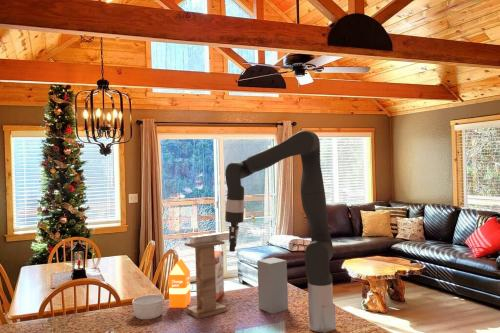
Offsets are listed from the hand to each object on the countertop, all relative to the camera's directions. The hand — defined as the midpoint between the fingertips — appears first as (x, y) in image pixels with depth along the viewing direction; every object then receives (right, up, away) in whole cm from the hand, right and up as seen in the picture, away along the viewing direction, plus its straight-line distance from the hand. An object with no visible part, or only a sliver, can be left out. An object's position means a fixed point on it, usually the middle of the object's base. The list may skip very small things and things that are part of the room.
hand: (232, 249), depth 181 cm
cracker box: (-10, -28, +28) cm, 41 cm away
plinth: (+17, -27, +8) cm, 33 cm away
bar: (-8, +2, +10) cm, 13 cm away
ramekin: (-36, -29, +5) cm, 47 cm away
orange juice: (-25, -29, +18) cm, 42 cm away
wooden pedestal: (-11, -28, +7) cm, 31 cm away
